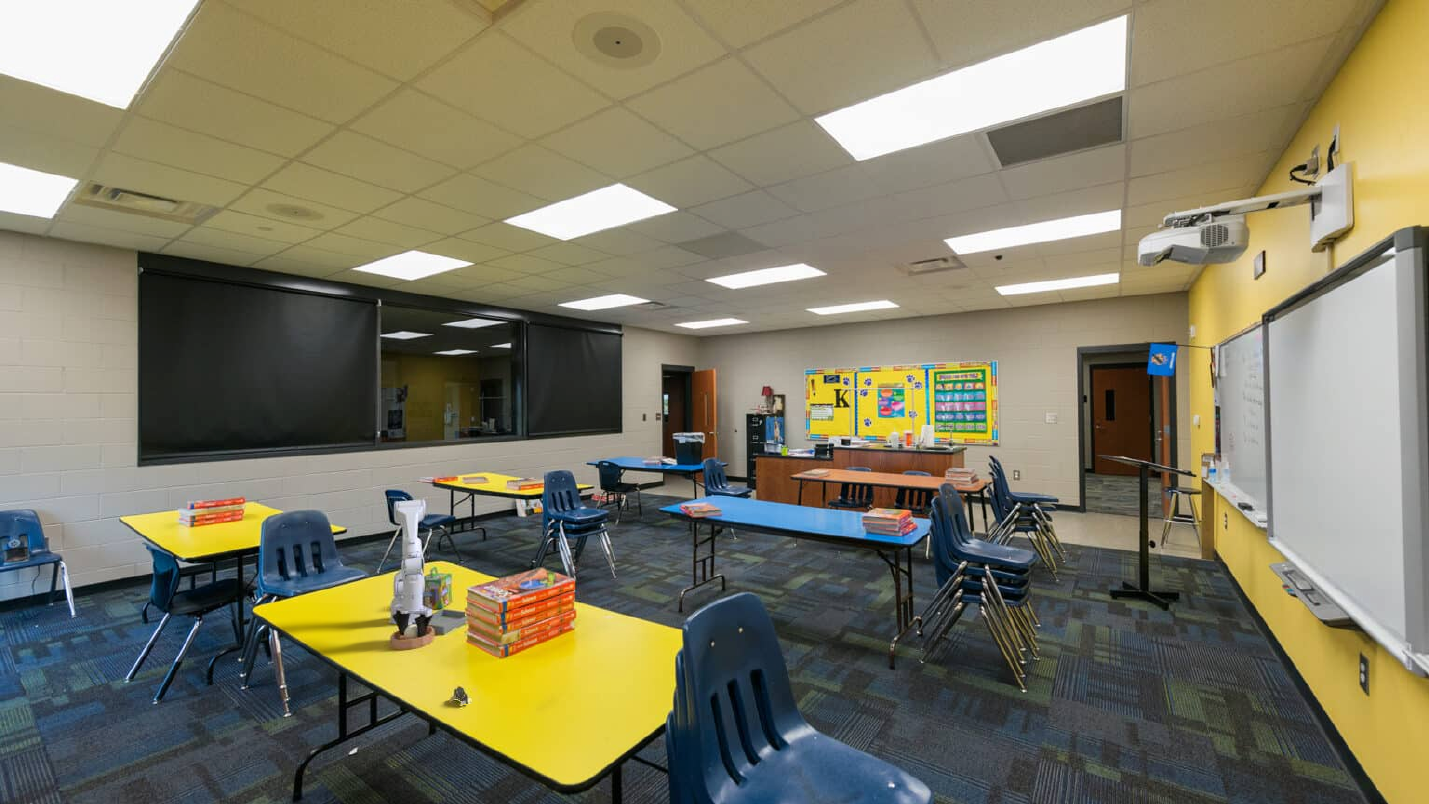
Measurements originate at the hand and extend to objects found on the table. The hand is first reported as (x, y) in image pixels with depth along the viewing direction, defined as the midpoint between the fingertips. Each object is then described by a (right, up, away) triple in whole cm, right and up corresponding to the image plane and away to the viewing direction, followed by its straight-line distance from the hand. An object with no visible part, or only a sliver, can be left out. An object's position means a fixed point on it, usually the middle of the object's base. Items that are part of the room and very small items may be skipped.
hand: (412, 635), depth 186 cm
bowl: (0, -2, 0) cm, 2 cm away
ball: (0, +1, 0) cm, 1 cm away
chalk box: (-10, -3, +35) cm, 37 cm away
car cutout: (+37, -2, -41) cm, 55 cm away
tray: (+3, -2, +15) cm, 15 cm away
